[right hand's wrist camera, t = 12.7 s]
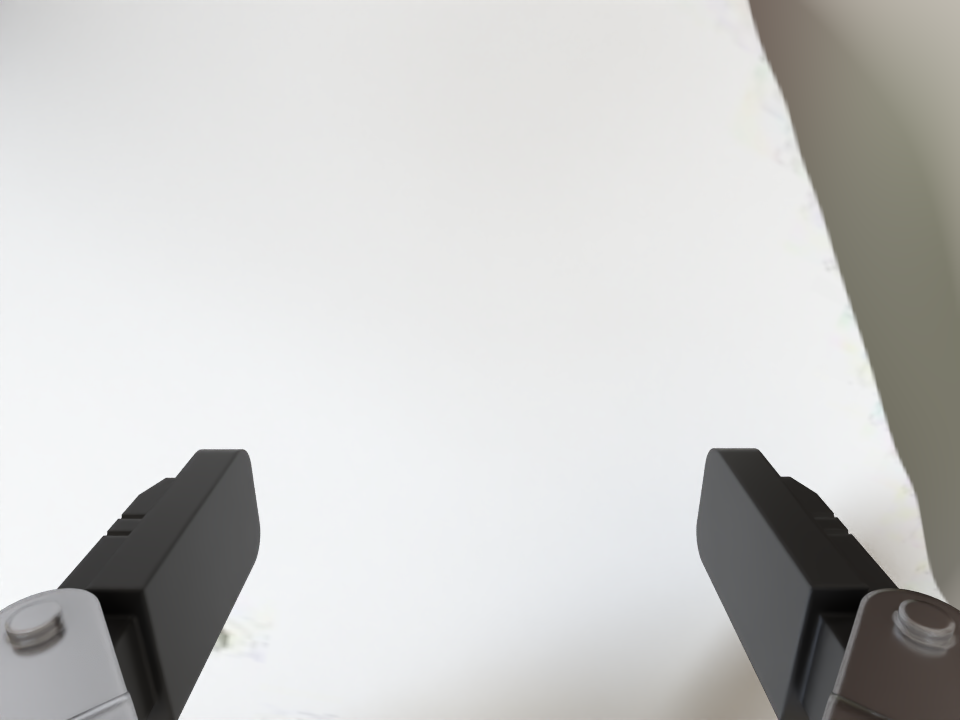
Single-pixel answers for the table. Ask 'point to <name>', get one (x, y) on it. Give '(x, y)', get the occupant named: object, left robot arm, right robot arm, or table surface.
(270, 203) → the table surface
